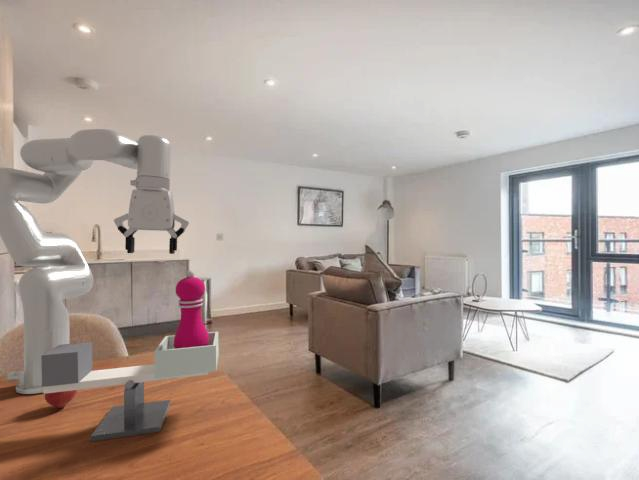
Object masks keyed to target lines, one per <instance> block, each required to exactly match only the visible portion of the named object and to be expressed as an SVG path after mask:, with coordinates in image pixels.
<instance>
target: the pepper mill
mask: <svg viewBox="0 0 639 480" xmlns="http://www.w3.org/2000/svg"><path fill="white" fill-rule="evenodd" d="M194 276H195V271H194V270H192V269H188V270H187V271H186V272H185V277H184V278H182V279H180V280H179V281H178V282H177V284H176V286H175V295H176V296H177V297H178V298H179V300H178V308H180V321H179V324H178V328H177V330H176V332H175V334H174V335H175V338H174V348H175V349H178V348H188V347H198V346H207V345H208V343H209V336H208V330H207V328H206V326H205V324H204V321H203V317H202V312H201V310H202V306H203V305H204V303H203V301H204V299H203V298H202V297H203V295H204V294H205V291H206V290H205V289H206V287H205V283H204V281H203V280H202V279H200V278H199V277H194Z"/></svg>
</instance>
